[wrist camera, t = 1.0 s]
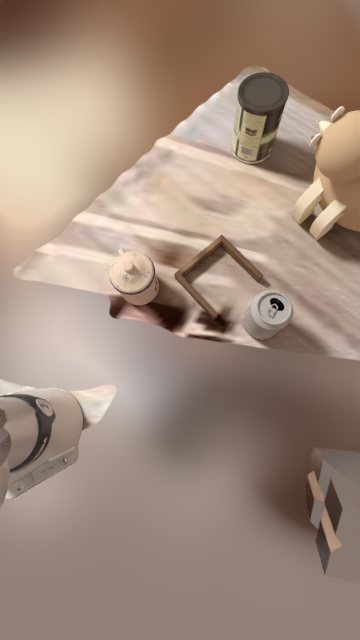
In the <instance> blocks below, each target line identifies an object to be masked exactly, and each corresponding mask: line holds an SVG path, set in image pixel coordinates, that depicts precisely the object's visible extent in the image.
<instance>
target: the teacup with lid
mask: <svg viewBox="0 0 360 640" xmlns="http://www.w3.org/2000/svg"><path fill="white" fill-rule="evenodd" d="M118 253H119V255H120V256H118V257H117V258H116V259H115V260H114V262H113V263H112V265H111V268H110V274H109V275H110V281H111V283H112V285H113V286H114V288H115V289H116V290H118V291H119V292H120V293H121V295H122V296H123V297H124V298H125V300H127V301H128V302H129V303H131V304H134V305H145V304H147V303H149V302H151V301H152V300H153V299H154V298H155V297H156V295H157V293H158V290H159V282H158V279H157V276H156V274H155V268H154V265H153V263H152V261H151V260H150V258H149V257H147V256H146V255H144V254H142V253H140V252H133V251H132V252H126V253H125V252H124V250H123V249H119V250H118Z"/></svg>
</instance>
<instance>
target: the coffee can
mask: <svg viewBox="0 0 360 640" xmlns="http://www.w3.org/2000/svg"><path fill="white" fill-rule="evenodd" d="M288 96H289V88H288V85H287V83H286V82H285V81H284V80H283V79H282V78H281V77H279V76H277V75H275V74H272V73H266V72H264V73H256V74H253V75H250V76H248V77H247V78H245V79H244V80H243V81H242V82H241V84H240V85H239V88H238V99H237V107H236V115H235V123H234V131H233V139H232V144H231V150H232V153H233V155H234V156H235V158H236V159H238V160H239V161H241V162H243V163H247V164H256V163H260V162H262V161H264V160H266V159H267V158H268V157H269V156H270V154H271V152H272V148H273V144H274V140H275V137H276V134H277V130H278V127H279V123H280V120H281V117H282V114H283V110H284V107H285V103H286V101H287V99H288Z"/></svg>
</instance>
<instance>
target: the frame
mask: <svg viewBox="0 0 360 640" xmlns="http://www.w3.org/2000/svg"><path fill="white" fill-rule="evenodd" d="M220 246H221V247H222V248H223V249H224V250H225V251H226V252H227V253H228V254H229V255H230V256H231V257H232V258H233V259H234V260H235V261H237V262H238V263H239V264H240V265H241V266H242V267H243V268H244V269H245V270H246V271H247V272H248V273H249V274H250V275H251V276H252V277H253V278H254V279H255V280H256V281H257V282H259V281H260V280H261V279H262V277H263V274H262V273H261V272H260V271H259V270H257V269H256V268H255V267H254V266H253V265H252V264H251V263H250V262H249V261H248V260H247V259H246V258H245V257H244V256H243V255H242V254H241V253H240V252H239V251H238V250H237V249H236V248H235V247H234V246H233V245H232V244H231V243H230V242H229V241H228V240H227V239H226V238H225V237H224V236H223V235H221V236H220V237H219V238H217V239H216V240H215V241H214V242H213V243H211V244H210V245H209V246H208V247H206V248H205V249H204V250H203V251H202V252H200V253H199V254H198V255H197V256H196V257H194V258H193V259H192V260H191V261H189V262H188V263H187V264H186V265H185V266H183V267H182V268H181V269H180V270H178V271H177V272H176V273H175V274H174V275H175V279H176V280H177V281H178V282H179V283H180V284H181V285H182V286H183V287H184V288H185V290H186V291H187V292H188V293H189V294H190V295H191V296H192V297H193V298H194V299H195V300H196V301H197V302H198V304H199V305H200V306H201V307H202V308H203V309H204V310H205V311H206V312H207V313H208V314H209V315H210V317H211V318H212V319H213V320H215V319H216V318H217V316H218V314H217V313H216V312H215V310H214V309H213V308H212V307H211V306H210V305H209V304H208V303H207V302H206V301H205V300H204V299H203V298H202V297H201V295H200V294H199V293H198V292H197V291H196V290H195V289H194V288H193V287H192V286H191V285H190V284H189V283H188V282H187V281H186V279H185V278H184V276H185V275H186V274H188V273H189V272H190V271H191V270H192V269H194V268H195V267H196V266H197V265H198V264H200V263H201V262H202V261H203V260H205V259H206V258H207V257H208V256H209V255H211V254H212V253H213V252H214V251H215V250H217V249H218V248H219V247H220Z"/></svg>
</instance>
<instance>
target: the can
mask: <svg viewBox="0 0 360 640" xmlns="http://www.w3.org/2000/svg"><path fill="white" fill-rule="evenodd" d="M292 316H293V306H292V304H291V301H290V300H289V299H288V297H287V296H286V295H284V294H283V293H281V292H278V291H274V290H267V291H264V292H261V293H260V294H258V295H257V296H256V297H255V298H254V300H253V301H252V303H251V305H250V306H249V308H248V310H247V312H246V313H245V315H244V319H243V324H244V327H245V330H246V331H247V333H248V334H249V335H251V336H252V337H254V338H256V339H268V338H271V337H272V336H273V335H275V334H276V333H277V332H279V331H280V330H281V329H282V328H284V327H285V326H286V325H288V324H289V322H290V321H291V319H292Z"/></svg>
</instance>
